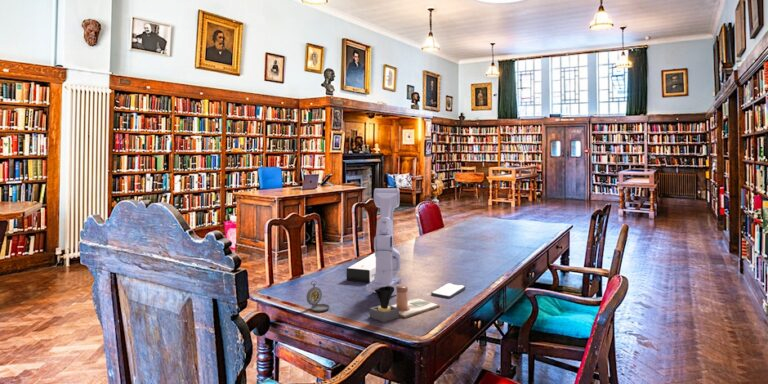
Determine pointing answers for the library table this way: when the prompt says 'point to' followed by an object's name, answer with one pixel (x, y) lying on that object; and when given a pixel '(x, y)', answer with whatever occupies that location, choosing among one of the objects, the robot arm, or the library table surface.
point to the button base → (384, 313)
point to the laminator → (363, 270)
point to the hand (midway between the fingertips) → (384, 307)
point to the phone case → (448, 290)
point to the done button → (384, 309)
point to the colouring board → (416, 307)
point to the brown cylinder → (402, 297)
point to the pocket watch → (316, 299)
